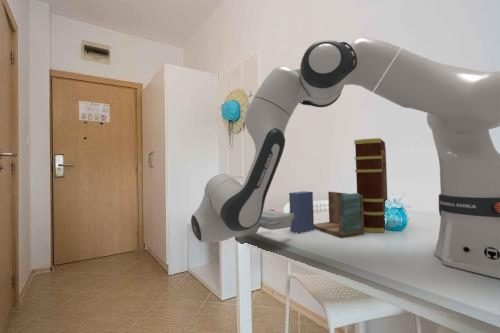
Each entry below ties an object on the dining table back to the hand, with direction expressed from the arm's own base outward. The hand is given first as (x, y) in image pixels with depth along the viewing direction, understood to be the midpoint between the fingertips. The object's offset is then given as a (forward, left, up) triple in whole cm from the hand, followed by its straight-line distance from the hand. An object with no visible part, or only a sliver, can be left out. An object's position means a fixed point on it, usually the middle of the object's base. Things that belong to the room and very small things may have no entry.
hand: (282, 213), depth 84 cm
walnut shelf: (-4, -18, -7) cm, 19 cm away
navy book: (+2, -8, -7) cm, 11 cm away
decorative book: (-5, -34, -7) cm, 35 cm away
